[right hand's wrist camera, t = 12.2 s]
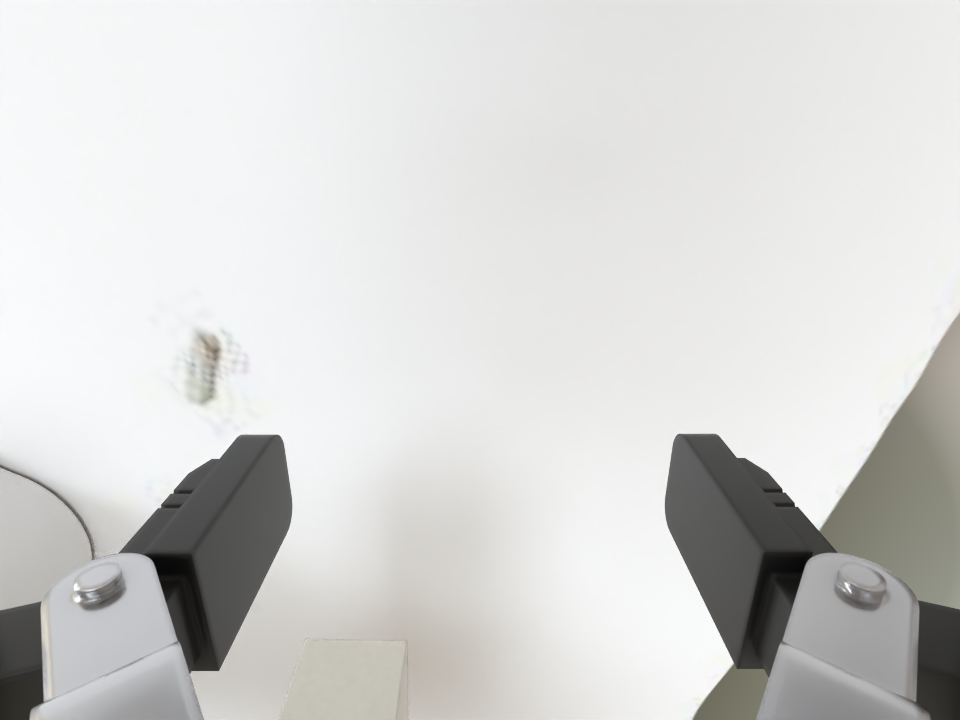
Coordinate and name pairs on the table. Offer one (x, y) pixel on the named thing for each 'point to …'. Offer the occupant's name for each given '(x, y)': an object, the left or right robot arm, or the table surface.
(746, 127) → the table surface
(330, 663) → the bar
